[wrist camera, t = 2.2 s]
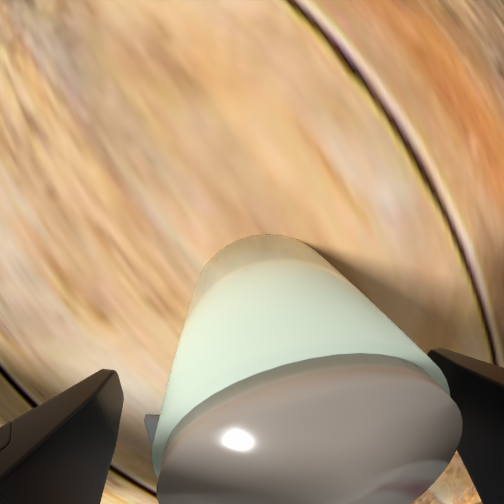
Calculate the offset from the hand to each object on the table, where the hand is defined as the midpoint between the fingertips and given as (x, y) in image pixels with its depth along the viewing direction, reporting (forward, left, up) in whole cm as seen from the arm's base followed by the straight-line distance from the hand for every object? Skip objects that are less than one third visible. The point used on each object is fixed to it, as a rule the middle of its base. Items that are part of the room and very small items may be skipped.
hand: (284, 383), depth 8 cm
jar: (0, 0, -5) cm, 5 cm away
